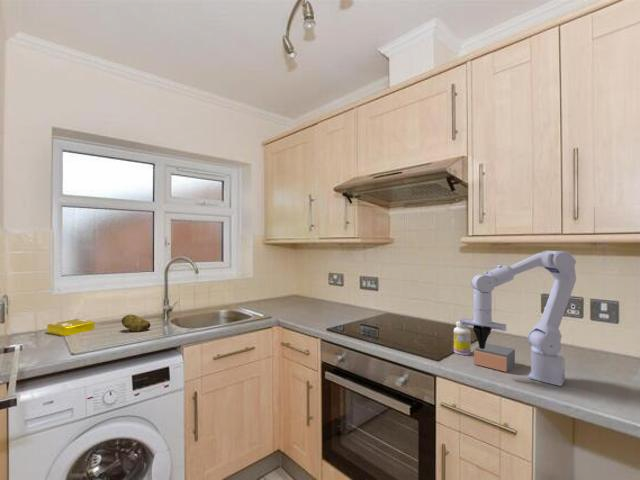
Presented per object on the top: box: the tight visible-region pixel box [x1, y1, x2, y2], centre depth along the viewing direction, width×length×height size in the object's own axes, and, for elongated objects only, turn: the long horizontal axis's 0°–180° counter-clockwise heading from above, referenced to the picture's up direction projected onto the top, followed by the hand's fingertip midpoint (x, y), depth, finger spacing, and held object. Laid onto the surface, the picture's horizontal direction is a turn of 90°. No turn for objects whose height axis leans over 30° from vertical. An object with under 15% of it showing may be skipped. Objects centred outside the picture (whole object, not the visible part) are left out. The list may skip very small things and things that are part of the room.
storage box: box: [474, 342, 516, 373], centre depth 126 cm, size 11×10×6 cm
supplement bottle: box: [453, 320, 472, 356], centre depth 139 cm, size 7×7×13 cm
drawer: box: [473, 350, 508, 373], centre depth 125 cm, size 11×10×5 cm
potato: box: [121, 314, 151, 332], centre depth 168 cm, size 8×13×8 cm, turn 79°
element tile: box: [46, 318, 95, 337], centre depth 166 cm, size 15×15×5 cm
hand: (482, 348), depth 115 cm, fingers closed
